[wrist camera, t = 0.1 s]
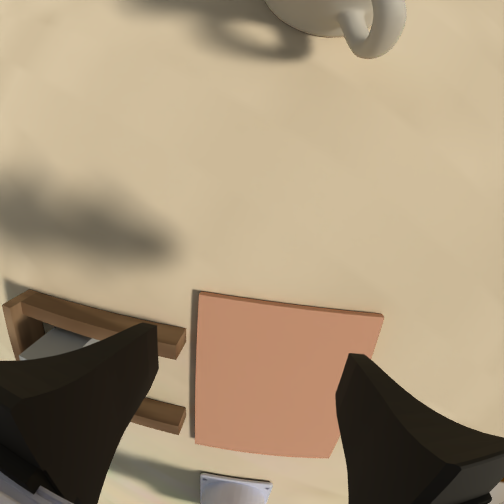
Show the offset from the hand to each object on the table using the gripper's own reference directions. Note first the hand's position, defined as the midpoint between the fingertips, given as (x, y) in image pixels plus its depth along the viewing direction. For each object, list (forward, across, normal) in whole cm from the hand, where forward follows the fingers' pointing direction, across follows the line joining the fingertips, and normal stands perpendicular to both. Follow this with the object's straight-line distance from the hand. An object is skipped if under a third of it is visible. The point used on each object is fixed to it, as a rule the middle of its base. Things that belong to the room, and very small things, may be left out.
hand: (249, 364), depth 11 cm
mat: (+10, -2, +10) cm, 14 cm away
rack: (+10, +13, +10) cm, 19 cm away
